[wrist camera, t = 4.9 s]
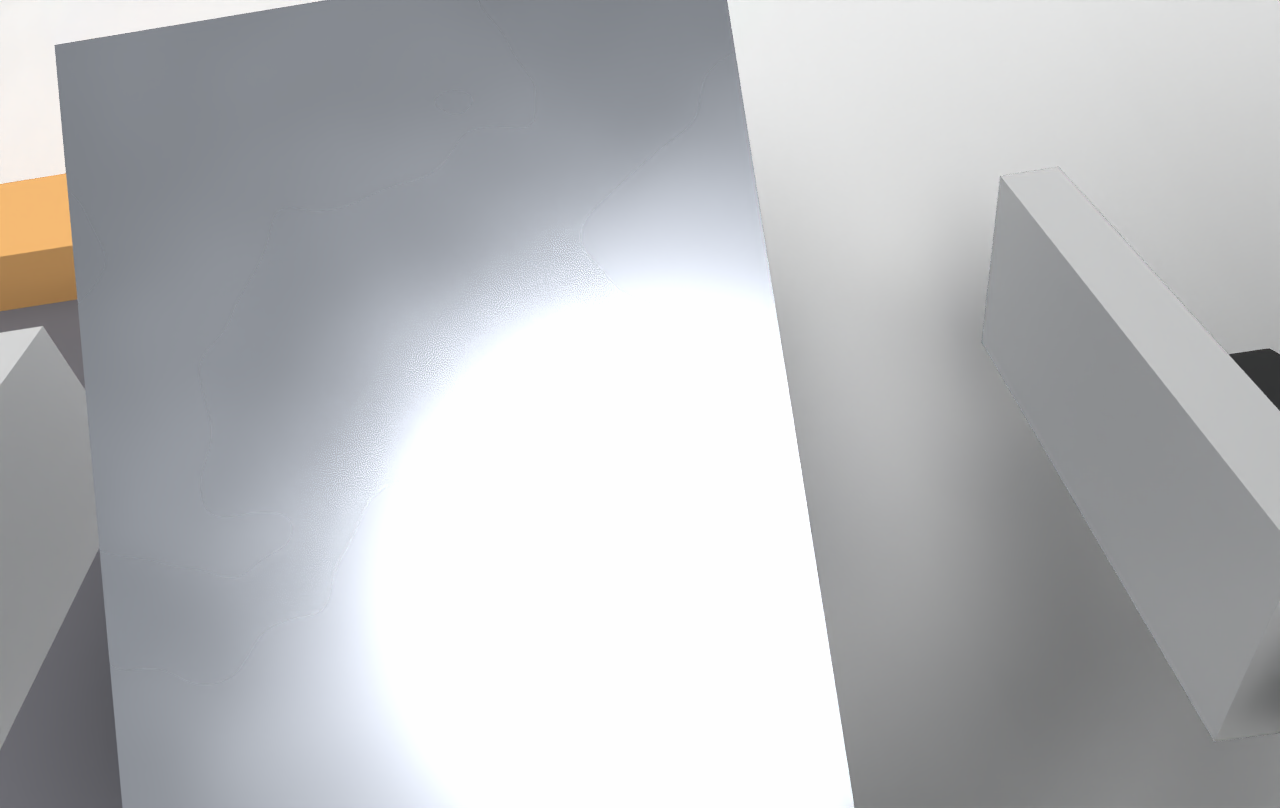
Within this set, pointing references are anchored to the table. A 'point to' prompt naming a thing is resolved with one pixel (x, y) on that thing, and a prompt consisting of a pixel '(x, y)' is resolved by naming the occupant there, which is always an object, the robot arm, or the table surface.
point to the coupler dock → (79, 657)
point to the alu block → (442, 413)
